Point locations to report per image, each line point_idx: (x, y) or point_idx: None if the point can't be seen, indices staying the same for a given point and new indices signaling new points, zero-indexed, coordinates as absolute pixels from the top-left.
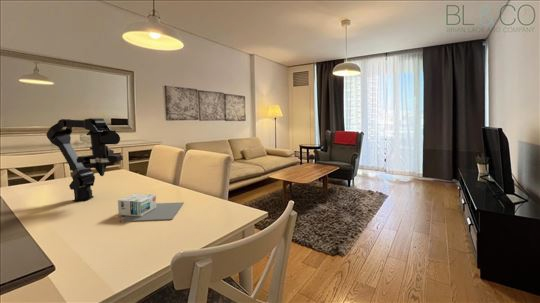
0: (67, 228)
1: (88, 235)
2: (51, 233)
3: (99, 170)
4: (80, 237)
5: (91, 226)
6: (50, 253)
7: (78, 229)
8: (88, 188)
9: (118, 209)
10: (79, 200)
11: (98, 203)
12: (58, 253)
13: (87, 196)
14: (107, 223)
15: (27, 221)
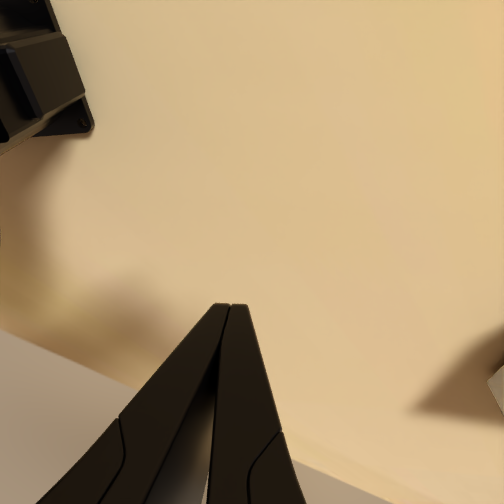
0: (319, 425)
1: (418, 457)
2: (293, 440)
3: (207, 467)
4: (400, 462)
5: (397, 423)
6: (370, 493)
7: (363, 432)
8: (2, 102)
9: (501, 409)
10: (42, 135)
11: (248, 187)
12: (388, 494)
13: (65, 108)
14: (450, 413)
15: (111, 375)
